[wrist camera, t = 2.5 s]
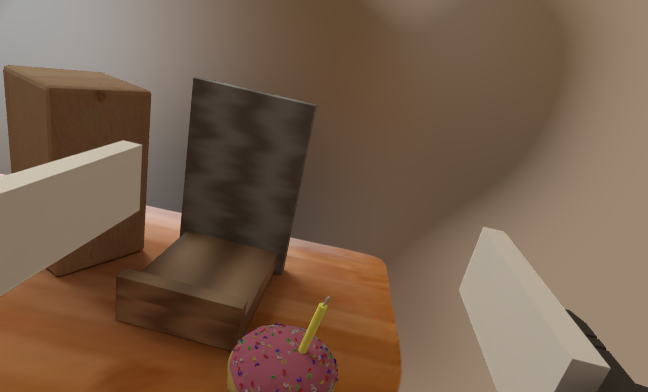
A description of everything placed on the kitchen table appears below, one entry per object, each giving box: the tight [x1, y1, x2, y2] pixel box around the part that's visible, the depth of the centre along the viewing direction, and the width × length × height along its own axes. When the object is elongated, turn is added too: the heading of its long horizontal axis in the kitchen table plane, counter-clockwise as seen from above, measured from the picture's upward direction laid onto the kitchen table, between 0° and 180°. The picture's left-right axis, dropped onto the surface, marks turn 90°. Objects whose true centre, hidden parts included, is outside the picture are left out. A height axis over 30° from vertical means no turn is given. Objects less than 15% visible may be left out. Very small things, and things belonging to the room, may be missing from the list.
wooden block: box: [3, 65, 151, 276], centre depth 43 cm, size 10×10×20 cm
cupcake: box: [227, 297, 339, 392], centre depth 29 cm, size 9×8×12 cm
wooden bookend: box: [116, 77, 317, 351], centre depth 40 cm, size 14×16×22 cm
